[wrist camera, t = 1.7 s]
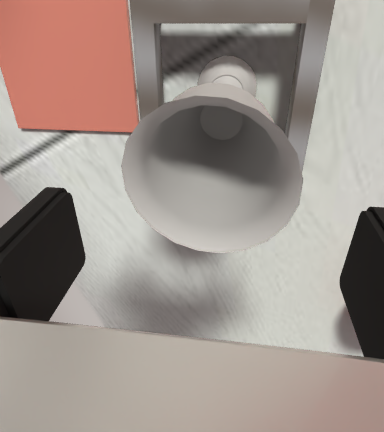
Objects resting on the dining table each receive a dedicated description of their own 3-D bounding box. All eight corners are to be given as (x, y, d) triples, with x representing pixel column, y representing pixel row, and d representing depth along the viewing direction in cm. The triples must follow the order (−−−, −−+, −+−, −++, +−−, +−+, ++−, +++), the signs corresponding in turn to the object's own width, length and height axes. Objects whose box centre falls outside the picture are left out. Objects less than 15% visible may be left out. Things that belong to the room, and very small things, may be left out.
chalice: (286, 72, 27) (343, 159, 12) (242, 141, 31) (242, 275, 16) (208, 24, 26) (162, 54, 11) (171, 102, 29) (99, 206, 14)
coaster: (-23, -24, 26) (-27, -24, 26) (125, -26, 25) (123, -27, 24) (21, 126, 32) (18, 128, 32) (139, 130, 31) (138, 132, 31)
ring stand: (146, -3, 25) (129, -4, 21) (321, -4, 24) (336, -6, 20) (157, 156, 32) (145, 176, 29) (292, 162, 31) (299, 184, 27)
